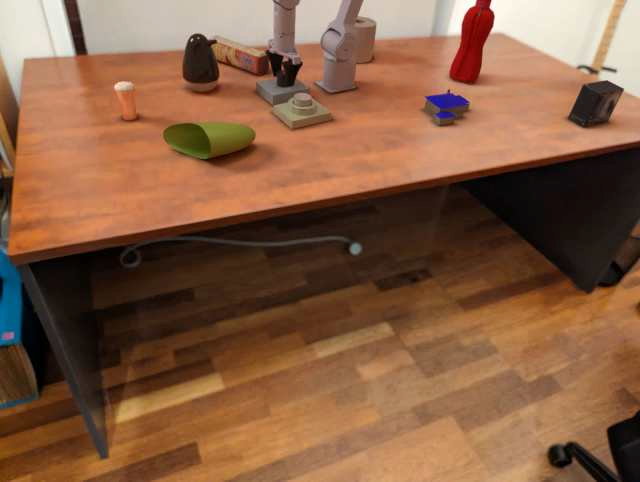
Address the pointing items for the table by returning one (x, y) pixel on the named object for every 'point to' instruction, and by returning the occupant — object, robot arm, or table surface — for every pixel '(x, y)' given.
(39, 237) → the table surface
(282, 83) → the lock dial
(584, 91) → the small box
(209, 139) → the green scoop
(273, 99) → the dial panel
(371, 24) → the toilet paper roll
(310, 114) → the button base
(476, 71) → the water bottle
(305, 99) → the button
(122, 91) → the milkshake
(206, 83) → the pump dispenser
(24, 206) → the table surface
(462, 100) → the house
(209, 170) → the table surface
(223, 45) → the snack package
